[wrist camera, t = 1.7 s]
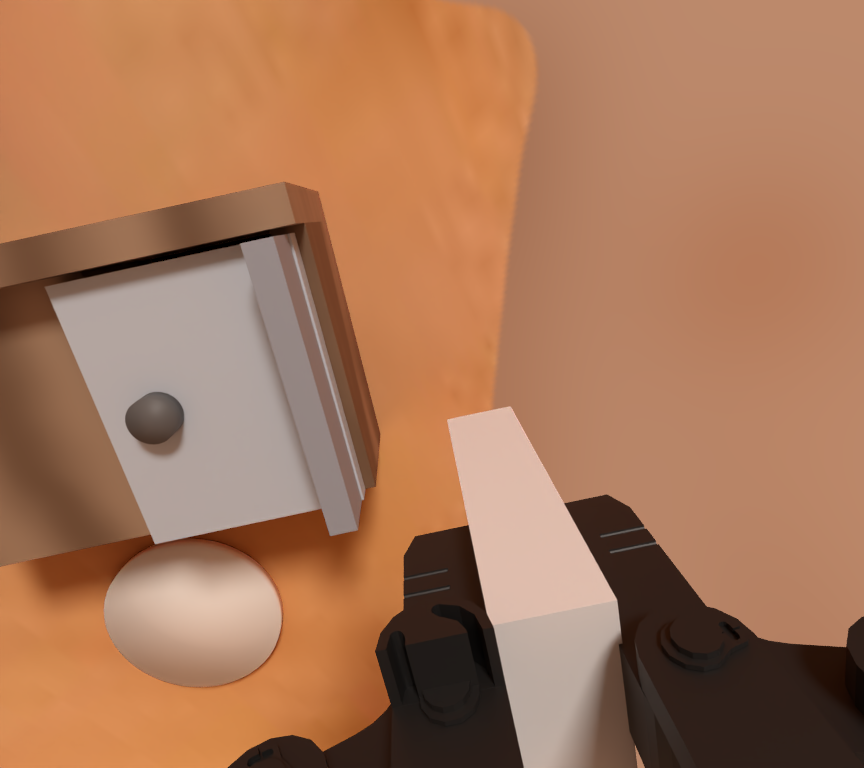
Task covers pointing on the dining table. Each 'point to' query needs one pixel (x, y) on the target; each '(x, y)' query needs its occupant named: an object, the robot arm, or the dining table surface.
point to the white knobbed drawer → (216, 388)
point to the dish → (194, 612)
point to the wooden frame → (67, 390)
